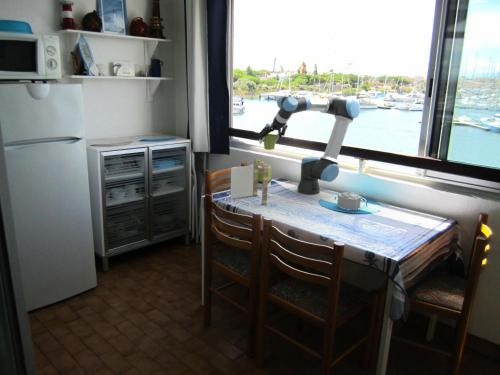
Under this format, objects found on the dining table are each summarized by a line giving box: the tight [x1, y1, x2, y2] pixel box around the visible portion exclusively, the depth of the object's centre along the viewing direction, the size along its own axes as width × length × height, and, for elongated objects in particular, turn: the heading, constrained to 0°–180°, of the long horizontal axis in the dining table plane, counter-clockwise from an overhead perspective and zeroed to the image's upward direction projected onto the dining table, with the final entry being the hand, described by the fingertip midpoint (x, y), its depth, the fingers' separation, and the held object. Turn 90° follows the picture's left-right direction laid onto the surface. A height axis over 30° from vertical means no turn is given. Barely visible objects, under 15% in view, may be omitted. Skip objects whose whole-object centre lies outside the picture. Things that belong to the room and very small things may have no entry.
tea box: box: [248, 163, 273, 190], centre depth 278 cm, size 15×10×15 cm, turn 73°
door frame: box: [253, 157, 269, 206], centre depth 248 cm, size 21×2×24 cm, turn 17°
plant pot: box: [263, 133, 277, 151], centre depth 250 cm, size 9×9×9 cm
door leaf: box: [230, 165, 254, 199], centre depth 252 cm, size 15×3×19 cm, turn 117°
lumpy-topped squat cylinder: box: [336, 191, 362, 211], centre depth 240 cm, size 10×13×9 cm
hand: (267, 142), depth 252 cm, fingers closed on plant pot, 9 cm apart
